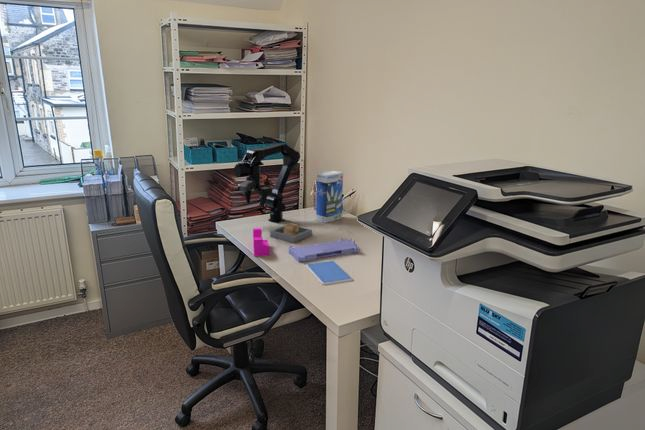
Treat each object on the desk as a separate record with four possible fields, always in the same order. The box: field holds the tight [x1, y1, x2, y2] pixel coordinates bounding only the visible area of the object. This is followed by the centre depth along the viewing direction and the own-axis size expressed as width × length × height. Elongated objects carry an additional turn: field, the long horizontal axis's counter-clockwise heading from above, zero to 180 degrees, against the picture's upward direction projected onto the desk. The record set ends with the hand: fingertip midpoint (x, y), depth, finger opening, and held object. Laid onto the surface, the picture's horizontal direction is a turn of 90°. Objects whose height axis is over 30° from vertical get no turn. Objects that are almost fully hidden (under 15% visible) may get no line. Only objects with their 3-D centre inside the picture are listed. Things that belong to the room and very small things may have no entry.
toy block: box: [252, 227, 270, 257], centre depth 189 cm, size 15×6×8 cm, turn 10°
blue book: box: [305, 260, 354, 286], centre depth 168 cm, size 19×13×1 cm, turn 22°
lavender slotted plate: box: [288, 237, 360, 263], centre depth 188 cm, size 30×4×15 cm
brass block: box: [283, 222, 300, 236], centre depth 206 cm, size 5×5×5 cm
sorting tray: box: [270, 225, 313, 244], centre depth 207 cm, size 14×14×3 cm
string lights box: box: [315, 170, 344, 224], centre depth 231 cm, size 13×8×26 cm, turn 136°
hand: (254, 205), depth 217 cm, fingers open, 9 cm apart
